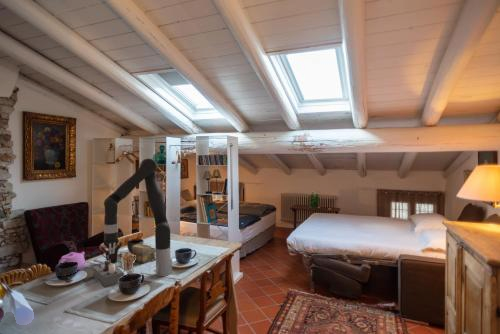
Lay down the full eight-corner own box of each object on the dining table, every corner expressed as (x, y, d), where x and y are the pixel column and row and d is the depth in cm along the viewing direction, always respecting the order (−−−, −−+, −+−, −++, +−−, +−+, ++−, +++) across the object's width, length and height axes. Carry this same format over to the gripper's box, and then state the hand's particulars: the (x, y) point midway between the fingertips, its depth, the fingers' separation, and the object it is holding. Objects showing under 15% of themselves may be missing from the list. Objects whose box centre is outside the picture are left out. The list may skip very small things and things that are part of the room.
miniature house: (143, 265, 212) (143, 249, 211) (129, 262, 219) (129, 246, 218) (159, 259, 225) (159, 243, 224) (145, 255, 232) (145, 241, 231)
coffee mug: (121, 261, 219) (120, 248, 219) (110, 265, 212) (109, 251, 211) (111, 258, 225) (110, 245, 225) (100, 262, 218) (99, 248, 217)
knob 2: (114, 272, 187) (113, 262, 186) (116, 274, 184) (115, 264, 184) (107, 274, 184) (107, 264, 184) (109, 276, 181) (109, 265, 181)
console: (111, 271, 202) (111, 262, 201) (123, 281, 185) (123, 272, 185) (93, 276, 194) (93, 266, 194) (104, 287, 178) (104, 277, 178)
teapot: (68, 278, 191) (67, 258, 190) (52, 276, 194) (51, 256, 194) (92, 266, 210) (91, 248, 210) (77, 264, 214) (76, 247, 213)
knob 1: (106, 272, 198) (105, 262, 197) (108, 273, 195) (107, 264, 195) (100, 273, 195) (100, 263, 195) (102, 275, 193) (101, 265, 192)
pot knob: (109, 269, 192) (109, 259, 192) (111, 270, 189) (111, 260, 189) (103, 270, 190) (103, 260, 189) (105, 272, 187) (105, 262, 187)
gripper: (120, 228, 190) (120, 255, 191) (97, 231, 181) (97, 260, 182) (124, 230, 184) (124, 258, 185) (101, 234, 175) (101, 264, 176)
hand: (111, 259), depth 184 cm, fingers closed
